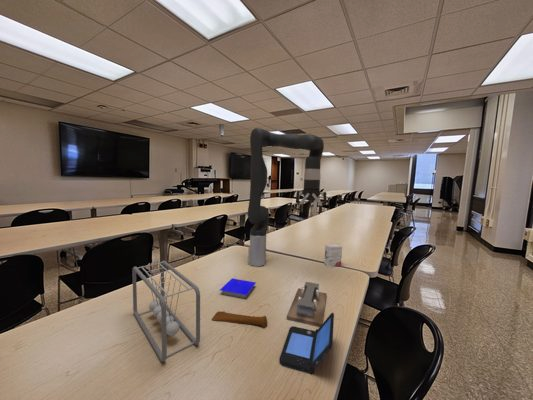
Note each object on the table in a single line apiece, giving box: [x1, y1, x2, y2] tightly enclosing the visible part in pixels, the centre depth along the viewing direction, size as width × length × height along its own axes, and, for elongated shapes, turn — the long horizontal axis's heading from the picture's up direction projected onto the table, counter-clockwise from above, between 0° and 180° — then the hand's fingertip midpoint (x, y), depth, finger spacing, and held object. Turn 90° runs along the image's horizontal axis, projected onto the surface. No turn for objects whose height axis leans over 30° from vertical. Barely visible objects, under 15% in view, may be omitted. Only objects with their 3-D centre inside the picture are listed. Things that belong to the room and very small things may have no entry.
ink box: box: [323, 243, 343, 267], centre depth 132 cm, size 9×5×12 cm, turn 103°
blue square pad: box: [219, 278, 257, 299], centre depth 100 cm, size 12×12×5 cm
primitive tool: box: [211, 310, 268, 328], centre depth 79 cm, size 19×6×4 cm, turn 79°
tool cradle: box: [286, 286, 327, 328], centre depth 88 cm, size 12×22×5 cm, turn 161°
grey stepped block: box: [297, 281, 320, 319], centre depth 89 cm, size 6×19×4 cm, turn 161°
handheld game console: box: [278, 312, 335, 375], centre depth 65 cm, size 16×13×9 cm
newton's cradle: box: [131, 260, 201, 363], centre depth 73 cm, size 30×10×18 cm, turn 43°
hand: (310, 212), depth 110 cm, fingers open, 8 cm apart
